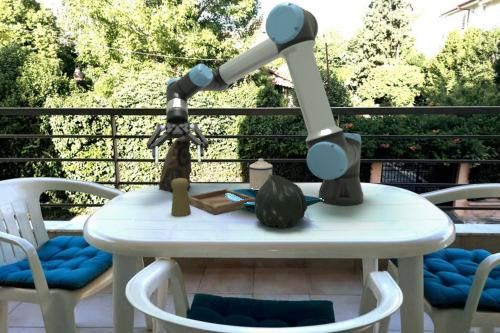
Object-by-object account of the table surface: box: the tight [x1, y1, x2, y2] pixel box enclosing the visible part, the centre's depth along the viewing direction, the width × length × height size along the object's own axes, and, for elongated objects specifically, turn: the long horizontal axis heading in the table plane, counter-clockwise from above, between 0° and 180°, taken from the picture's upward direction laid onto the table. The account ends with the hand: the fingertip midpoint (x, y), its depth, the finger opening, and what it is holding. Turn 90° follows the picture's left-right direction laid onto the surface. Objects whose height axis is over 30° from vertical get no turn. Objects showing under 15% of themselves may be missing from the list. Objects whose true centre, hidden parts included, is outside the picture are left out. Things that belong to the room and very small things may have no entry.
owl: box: [158, 136, 193, 193], centre depth 145 cm, size 13×13×20 cm
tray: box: [188, 188, 256, 216], centre depth 127 cm, size 16×16×2 cm
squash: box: [254, 174, 308, 229], centre depth 108 cm, size 14×15×15 cm
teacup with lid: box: [248, 158, 274, 189], centre depth 148 cm, size 12×9×12 cm
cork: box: [170, 178, 192, 218], centre depth 117 cm, size 6×6×11 cm
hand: (178, 164), depth 125 cm, fingers open, 13 cm apart
